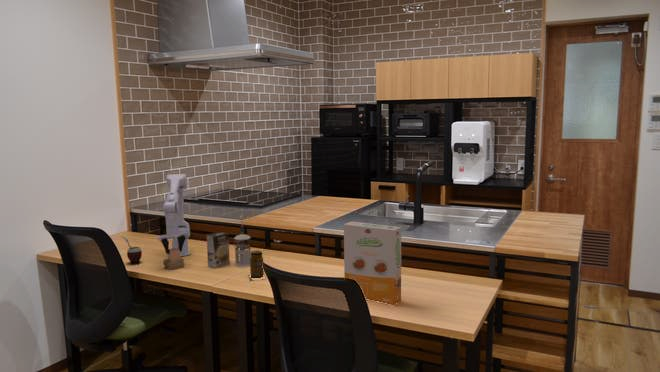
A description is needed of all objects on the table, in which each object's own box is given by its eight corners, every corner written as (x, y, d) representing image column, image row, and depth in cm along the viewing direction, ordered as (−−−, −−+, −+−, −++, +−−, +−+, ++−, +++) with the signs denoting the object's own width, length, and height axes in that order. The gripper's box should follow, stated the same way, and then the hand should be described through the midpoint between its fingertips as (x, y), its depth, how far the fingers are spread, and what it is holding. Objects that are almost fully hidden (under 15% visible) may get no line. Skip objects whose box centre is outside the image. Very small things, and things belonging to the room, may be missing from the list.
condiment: (263, 274, 242) (262, 249, 240) (266, 279, 234) (265, 254, 232) (248, 275, 240) (247, 250, 239) (250, 281, 232) (249, 255, 230)
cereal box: (401, 301, 204) (401, 227, 200) (394, 306, 199) (393, 230, 195) (352, 291, 217) (351, 221, 212) (344, 295, 211) (343, 224, 207)
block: (167, 259, 255) (167, 249, 255) (176, 257, 258) (176, 247, 257) (171, 261, 252) (170, 251, 251) (180, 259, 254) (179, 249, 254)
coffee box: (215, 268, 252) (214, 236, 250) (207, 266, 256) (205, 234, 254) (230, 264, 259) (228, 233, 257) (222, 262, 263) (220, 231, 261)
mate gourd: (145, 262, 266) (143, 233, 264) (133, 266, 259) (131, 237, 256) (134, 260, 269) (132, 232, 267) (122, 264, 262) (120, 236, 260)
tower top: (163, 264, 255) (163, 259, 254) (175, 261, 260) (175, 256, 260) (171, 267, 250) (171, 262, 250) (183, 263, 256) (183, 258, 255)
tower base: (164, 268, 256) (164, 264, 256) (178, 266, 260) (177, 261, 260) (170, 272, 251) (170, 267, 250) (183, 269, 255) (183, 264, 255)
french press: (239, 268, 252) (237, 218, 248) (228, 263, 261) (225, 215, 257) (257, 264, 258) (255, 215, 254) (245, 259, 267) (243, 212, 263)
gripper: (160, 229, 245) (162, 256, 247) (189, 224, 254) (191, 251, 256) (155, 226, 250) (157, 253, 252) (183, 222, 260) (185, 248, 261)
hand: (174, 252), depth 255 cm, fingers open, 6 cm apart
